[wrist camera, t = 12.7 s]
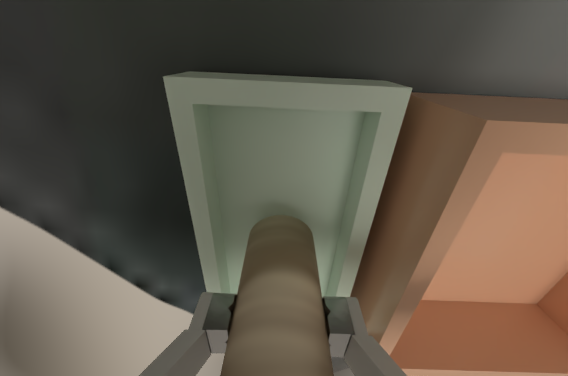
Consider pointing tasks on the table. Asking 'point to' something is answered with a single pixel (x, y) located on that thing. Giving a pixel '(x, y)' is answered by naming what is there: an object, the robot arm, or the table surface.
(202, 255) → the green tray
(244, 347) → the birch cylinder
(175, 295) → the table surface
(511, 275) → the orange hollow square box
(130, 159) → the table surface
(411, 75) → the table surface
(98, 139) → the table surface
